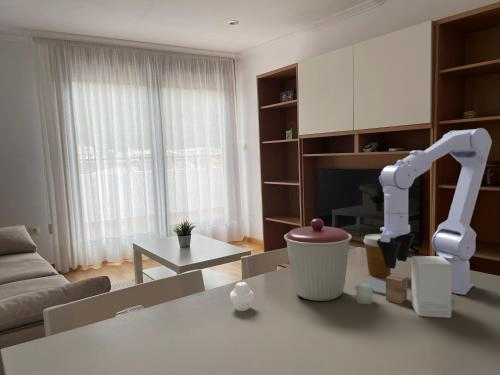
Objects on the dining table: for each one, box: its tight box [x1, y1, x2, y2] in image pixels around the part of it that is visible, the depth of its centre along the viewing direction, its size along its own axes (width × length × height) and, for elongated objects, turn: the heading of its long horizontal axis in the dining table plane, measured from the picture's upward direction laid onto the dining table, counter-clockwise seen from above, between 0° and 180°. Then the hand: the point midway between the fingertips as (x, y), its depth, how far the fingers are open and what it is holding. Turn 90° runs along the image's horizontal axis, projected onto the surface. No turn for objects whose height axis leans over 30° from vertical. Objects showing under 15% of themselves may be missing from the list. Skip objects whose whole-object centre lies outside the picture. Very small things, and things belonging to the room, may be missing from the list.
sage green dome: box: [355, 283, 373, 305], centre depth 98 cm, size 4×4×4 cm
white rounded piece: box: [229, 281, 255, 312], centre depth 95 cm, size 6×6×7 cm
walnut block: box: [385, 273, 408, 304], centre depth 98 cm, size 4×4×6 cm
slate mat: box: [360, 277, 386, 296], centre depth 107 cm, size 9×9×1 cm
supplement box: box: [410, 255, 452, 319], centre depth 90 cm, size 7×7×13 cm
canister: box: [283, 218, 353, 302], centre depth 103 cm, size 18×18×21 cm
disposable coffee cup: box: [363, 233, 392, 278], centre depth 118 cm, size 10×10×12 cm
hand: (396, 264), depth 97 cm, fingers open, 7 cm apart
